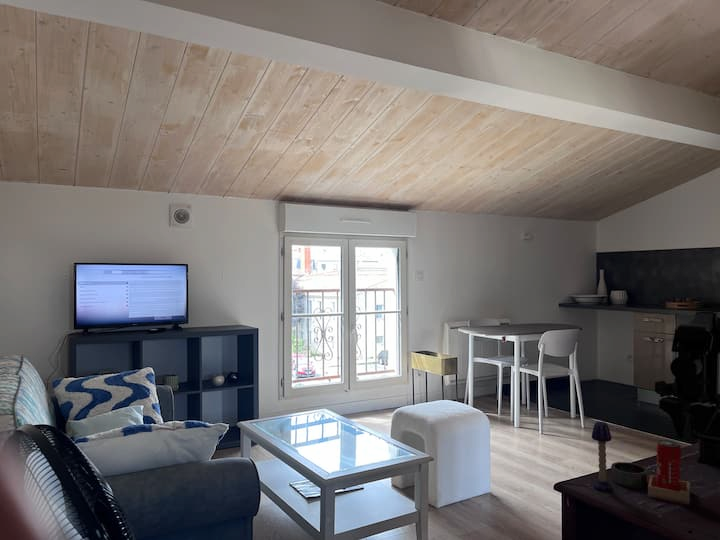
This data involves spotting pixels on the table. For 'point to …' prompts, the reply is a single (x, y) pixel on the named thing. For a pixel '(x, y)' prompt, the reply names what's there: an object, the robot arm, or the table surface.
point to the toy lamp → (602, 454)
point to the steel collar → (629, 474)
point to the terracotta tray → (669, 492)
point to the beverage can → (669, 465)
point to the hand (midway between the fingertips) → (691, 435)
